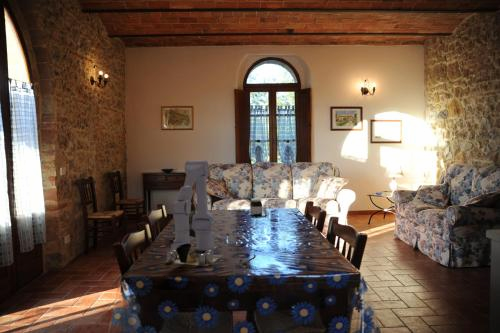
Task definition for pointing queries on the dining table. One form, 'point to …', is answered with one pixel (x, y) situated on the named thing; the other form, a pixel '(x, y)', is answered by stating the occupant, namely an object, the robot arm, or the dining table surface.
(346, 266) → the dining table surface
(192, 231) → the olive oil
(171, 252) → the grey piece
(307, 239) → the dining table surface
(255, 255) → the pliers
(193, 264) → the board
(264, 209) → the spread jar
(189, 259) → the nut
